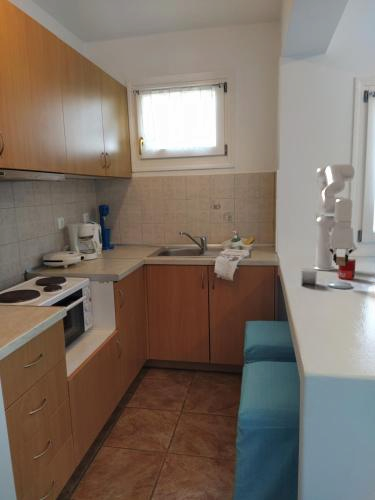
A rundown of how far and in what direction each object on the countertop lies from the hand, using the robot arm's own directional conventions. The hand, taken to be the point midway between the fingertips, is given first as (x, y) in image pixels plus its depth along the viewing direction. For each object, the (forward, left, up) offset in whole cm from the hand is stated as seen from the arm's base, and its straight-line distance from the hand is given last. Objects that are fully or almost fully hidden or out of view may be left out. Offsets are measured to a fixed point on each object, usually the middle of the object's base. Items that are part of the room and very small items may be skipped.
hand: (340, 262), depth 177 cm
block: (0, 0, -1) cm, 1 cm away
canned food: (-17, +9, -12) cm, 23 cm away
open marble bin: (-2, -14, -12) cm, 18 cm away
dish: (0, 0, -12) cm, 12 cm away
